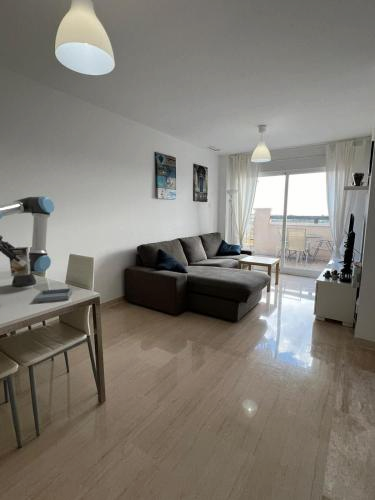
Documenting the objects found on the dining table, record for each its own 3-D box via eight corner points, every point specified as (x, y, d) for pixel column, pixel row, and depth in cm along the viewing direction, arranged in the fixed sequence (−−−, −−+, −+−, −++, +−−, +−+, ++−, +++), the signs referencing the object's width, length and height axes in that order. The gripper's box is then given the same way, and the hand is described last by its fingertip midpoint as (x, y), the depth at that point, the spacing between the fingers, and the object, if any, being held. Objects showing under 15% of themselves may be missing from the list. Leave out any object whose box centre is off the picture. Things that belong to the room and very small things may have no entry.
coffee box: (10, 276, 149) (7, 249, 146) (13, 274, 155) (10, 247, 152) (28, 274, 152) (26, 248, 150) (31, 272, 158) (28, 246, 156)
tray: (41, 295, 165) (41, 290, 164) (72, 292, 170) (71, 288, 169) (34, 303, 150) (34, 298, 149) (68, 300, 155) (68, 295, 154)
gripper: (-6, 240, 155) (27, 264, 162) (-22, 244, 137) (16, 271, 144) (3, 231, 156) (35, 256, 163) (-12, 233, 138) (26, 261, 145)
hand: (26, 263), depth 153 cm, fingers closed on coffee box, 7 cm apart
